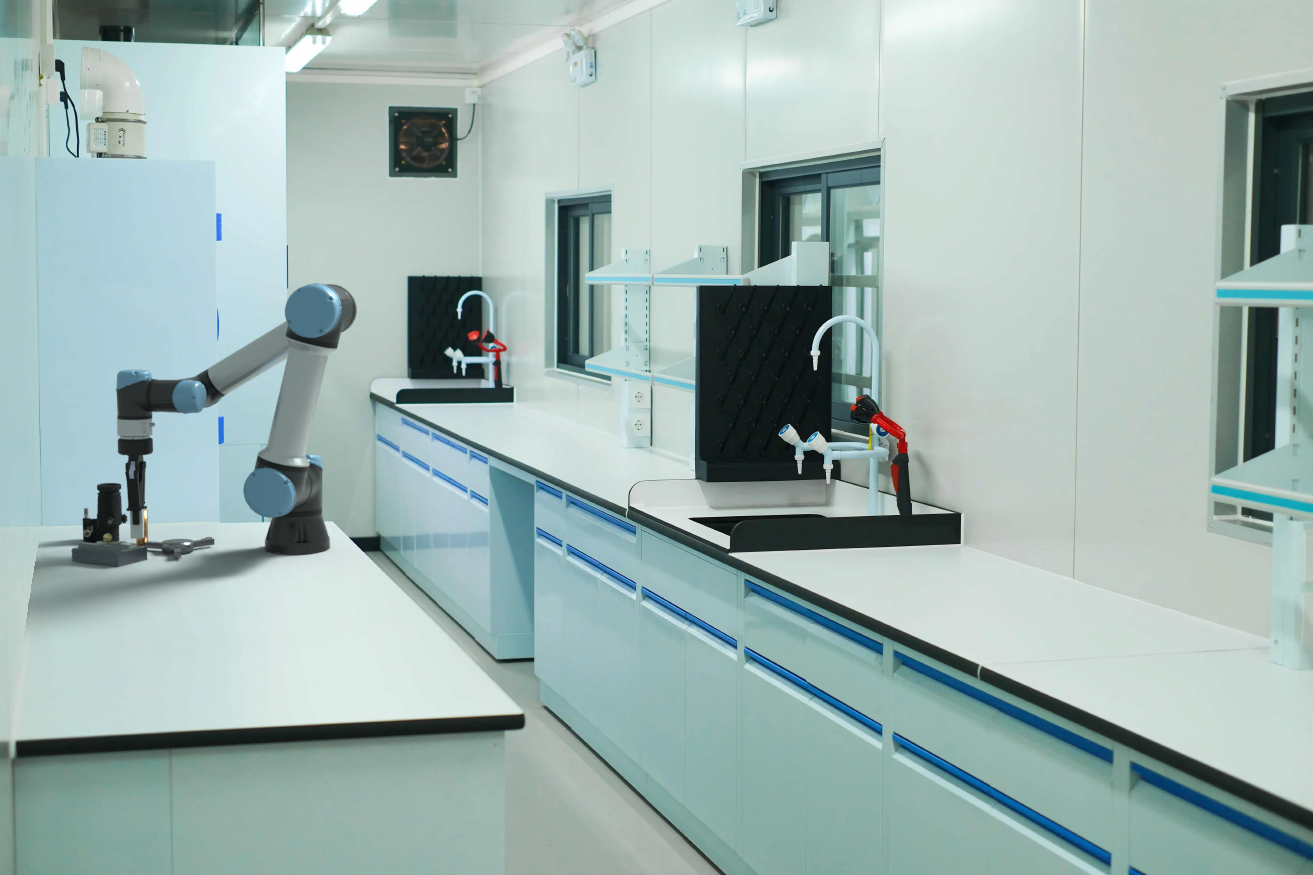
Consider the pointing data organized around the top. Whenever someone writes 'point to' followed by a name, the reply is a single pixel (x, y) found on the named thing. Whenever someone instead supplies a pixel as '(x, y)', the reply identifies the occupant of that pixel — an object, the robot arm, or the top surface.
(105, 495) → the scope
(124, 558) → the level stand
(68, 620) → the top surface
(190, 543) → the capstan
